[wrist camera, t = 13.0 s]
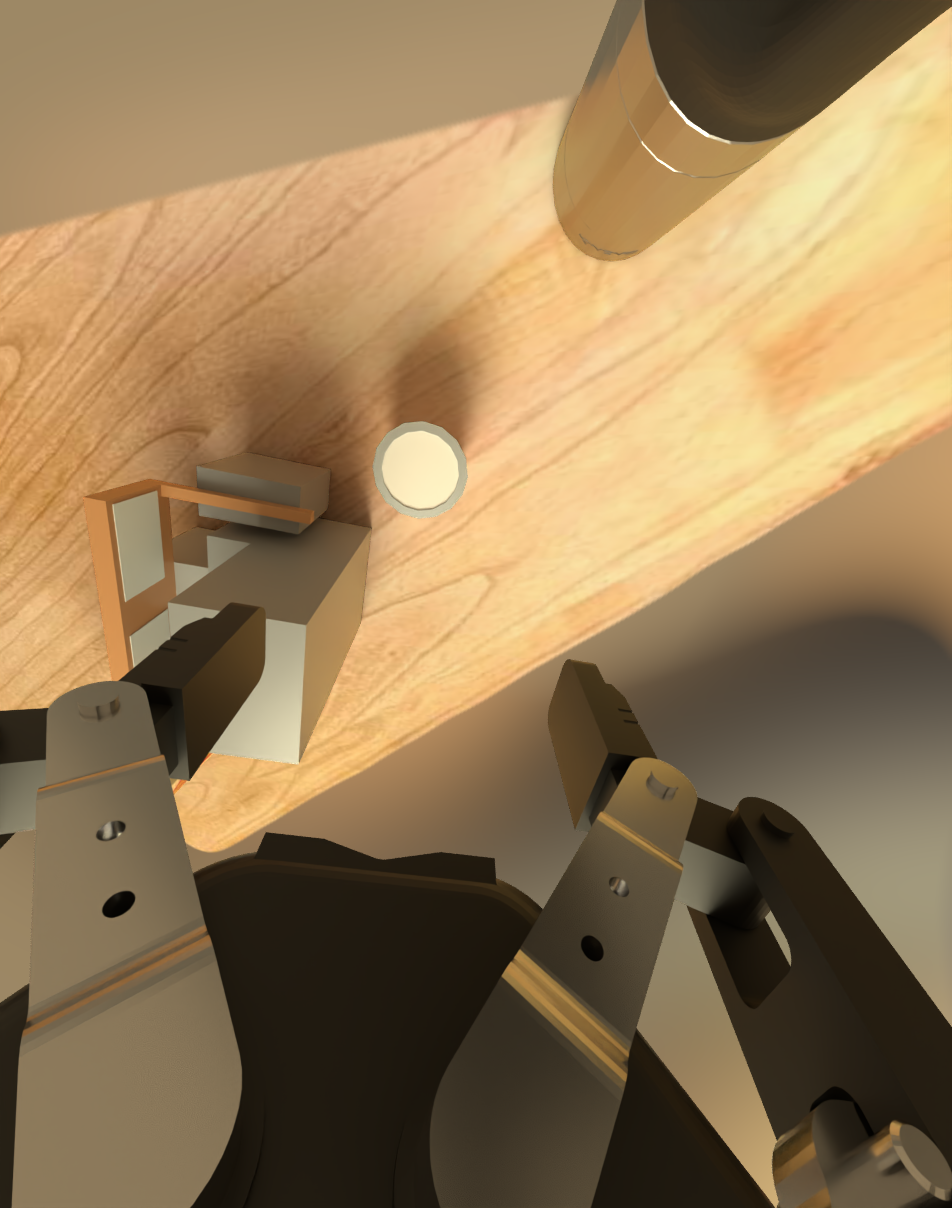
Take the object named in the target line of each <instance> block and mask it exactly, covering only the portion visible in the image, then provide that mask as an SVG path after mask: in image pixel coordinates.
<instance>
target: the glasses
mask: <svg viewBox="0 0 952 1208" xmlns="http://www.w3.org/2000/svg"><path fill="white" fill-rule="evenodd" d="M169 498H174V499H179V500H184V501H190V502H195V503H200V504H205V505H211V506H216V507H221V508H226V509H232V510H237V511H242V512H248V513H253V514H258V515H263V516H269V517H274V518H279V519H284V520H290V521H295V522H300V523H306V524H311V523H312V522H314V511H313V510H308V509H303V508H297V507H292V506H287V505H282V504H277V503H271V502H266V501H261V500H256V499H251V498H246V497H240V496H235V495H230V494H225V493H220V492H215V491H209V490H204V489H199V488H194V487H189V486H184V485H178V484H173V483H168V482H163V481H158V480H152V479H147V480H143V481H140V482H136V483H133V484H129V485H125V486H122V487H118V488H114V489H111V490H107V491H103V492H100V493H96V494H92V495H89V496H85V497H83V501H84V507H85V513H86V520H87V526H88V532H89V538H90V545H91V551H92V557H93V564H94V570H95V576H96V583H97V589H98V595H99V602H100V608H101V614H102V621H103V627H104V633H105V640H106V646H107V652H108V658H109V665H110V671H111V677H112V681H119V680H120V679H121V678H122V677H123V676H125V675H126V674H127V673H128V672H129V671H130V670H132V669H133V668H134V667H135V666H136V665H138V664H139V663H140V662H141V661H142V660H144V659H145V658H146V657H147V656H148V655H150V654H151V653H152V652H153V651H154V650H156V649H157V650H158V649H159V646H160V645H162V644H163V643H164V642H165V641H166V640H170V637H171V636H170V624H169V613H168V602H169V601H170V600H172V599H173V598H174V597H176V596H177V595H176V582H175V570H174V557H173V544H172V531H171V519H170V506H169Z"/></svg>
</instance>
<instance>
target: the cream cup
mask: <svg viewBox="0 0 952 1208" xmlns="http://www.w3.org/2000/svg"><path fill="white" fill-rule="evenodd" d="M373 472H374V477H375V483H376V487H377V488H378V490H379V491H380V493H381V495H382V496H383V498H384V500H385V501H386V502H387V503H388V504H389V505H390V506H392V507H393V508H394V509H396V510H397V511H398V512H399V513H401V514H404V515H408V516H411V517H414V518H429V517H436V516H438V515H440V514H442V513H444V512H446V511H448V510H450V509H451V508H452V507H453V506H454V505H455V503H456V502H457V501H458V500H459V498H460V497H461V496H462V495H463V491H464V488H465V485H466V481H467V478H468V474H467V464H466V457H465V455H464V453H463V451H462V449H461V447H460V445H459V443H458V441H457V440H456V439H455V438H454V437H453V436H451V435H450V434H449V433H448V432H447V431H446V430H445V429H443V428H442V427H440V426H437V425H434V424H431V423H428V422H425V421H419V422H409V423H403V424H401V425H400V426H398V427H396V428H395V429H393V430H391V431H389V432H388V433H387V434H386V436H385V437H384V438H383V440H382V441H381V443H380V444H379V445H378V447H377V448H376V453H375V458H374V463H373Z"/></svg>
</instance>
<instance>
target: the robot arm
mask: <svg viewBox="0 0 952 1208" xmlns="http://www.w3.org/2000/svg"><path fill="white" fill-rule="evenodd" d="M950 7H952V0H617V1H616V4H615V7H614V9H613V11H612V14H611V16H610V19H609V22H608V24H607V27H606V29H605V32H604V34H603V37H602V39H601V42H600V45H599V47H598V50H597V52H596V55H595V57H594V60H593V62H592V65H591V67H590V70H589V72H588V75H587V78H586V80H585V83H584V85H583V88H582V90H581V93H580V95H579V98H578V100H577V103H576V105H575V107H574V110H573V112H572V115H571V118H570V120H569V123H568V126H567V128H566V131H565V133H564V136H563V139H562V141H561V144H560V146H559V149H558V153H557V157H556V162H555V166H554V176H553V194H554V204H555V208H556V211H557V215H558V218H559V221H560V223H561V225H562V227H563V229H564V231H565V233H566V235H567V236H568V238H569V239H570V240H571V241H572V243H573V244H574V245H575V246H576V247H577V248H578V249H580V250H581V251H582V252H584V253H585V254H586V255H589V256H591V257H593V258H596V259H598V260H605V261H617V260H625V259H627V258H630V257H632V256H635V255H637V254H639V253H640V252H642V251H643V250H645V249H646V248H648V247H649V246H651V245H652V244H653V243H655V242H656V241H657V240H658V239H660V238H661V237H662V236H664V235H665V234H666V233H668V232H669V231H670V230H672V229H673V228H674V227H675V226H677V225H678V224H679V223H681V222H682V221H683V220H684V219H686V218H687V217H688V216H689V215H691V214H692V213H693V212H695V211H696V210H697V209H698V208H700V207H701V206H702V205H703V204H705V203H706V202H707V201H708V200H710V199H711V198H712V197H714V196H715V195H716V194H717V193H719V192H720V191H721V190H722V189H724V188H725V187H726V186H727V185H729V184H730V183H731V182H733V181H734V180H735V179H736V178H738V177H739V176H740V175H741V174H743V173H744V172H745V171H747V170H748V169H749V168H750V167H752V166H753V165H754V164H755V163H757V162H758V161H759V160H760V159H762V158H763V157H764V156H765V155H767V154H768V153H769V152H770V151H772V150H773V149H774V148H775V147H777V146H778V145H779V144H780V143H782V142H783V141H784V140H786V139H787V138H788V137H789V136H791V135H792V134H793V133H794V132H796V131H797V130H798V129H800V128H801V127H802V126H803V125H805V124H806V123H807V122H808V121H810V120H811V119H812V118H814V117H815V116H816V115H818V114H819V113H820V112H822V111H823V110H824V109H825V108H827V107H828V106H829V105H830V104H832V103H833V102H834V101H835V100H837V99H838V98H839V97H840V96H841V95H843V94H844V93H845V92H846V91H847V90H849V89H850V88H851V87H852V86H853V85H855V84H856V83H857V82H858V81H859V80H861V79H862V78H863V77H864V76H865V75H867V74H868V73H869V72H870V71H871V70H873V69H874V68H875V67H876V66H877V65H879V64H880V63H881V62H882V61H883V60H885V59H886V58H887V57H888V56H889V55H891V54H892V53H893V52H894V51H896V50H897V49H898V48H899V47H901V46H902V45H903V44H904V43H906V42H907V41H908V40H909V39H911V38H912V37H913V36H915V35H916V34H917V33H918V32H920V31H921V30H922V29H923V28H925V27H926V26H927V25H928V24H930V23H931V22H932V21H933V20H935V19H936V18H937V17H938V16H940V15H941V14H942V13H944V12H945V11H946V10H948V9H949V8H950ZM265 651H266V612H265V609H264V608H263V607H259V606H253V605H247V604H241V603H235V602H231V603H229V604H228V605H227V606H226V607H225V608H223V609H222V610H221V611H220V612H219V613H218V614H217V615H216V616H215V617H213V618H206V617H204V618H202V619H199V620H197V621H194V622H192V623H190V624H187V625H185V626H183V627H182V628H181V629H180V630H178V631H177V632H176V633H175V634H174V635H172V636H171V637H170V640H166V641H165V642H164V643H163V644H162V645H160V646H159V649H158V650H157V649H156V650H154V651H153V652H152V653H151V654H150V655H148V656H147V657H146V658H145V659H144V660H142V661H141V662H140V663H139V664H138V665H136V666H135V667H134V668H133V669H132V670H130V671H129V672H128V673H127V674H126V675H125V676H123V677H122V678H121V679H120V680H119V681H105V682H97V683H93V684H88V685H85V686H81V687H79V688H76V689H73V690H71V691H69V692H67V693H65V694H64V695H62V696H60V697H59V698H58V699H56V700H55V701H54V702H53V703H52V704H51V705H50V707H49V708H42V709H25V710H8V711H0V848H1V847H2V846H3V845H4V844H5V843H6V842H7V841H8V840H9V839H10V838H11V837H12V836H13V835H14V834H15V833H16V832H21V831H27V830H35V845H34V875H33V903H32V929H31V956H30V983H29V984H27V985H26V986H24V987H23V988H21V989H20V990H18V991H17V992H15V993H14V994H12V995H11V996H10V997H8V998H7V999H5V1000H4V1001H2V1002H1V1003H0V1208H775V1207H774V1206H773V1204H772V1203H771V1202H770V1200H769V1199H768V1197H767V1196H766V1195H765V1194H764V1192H763V1191H762V1190H761V1189H760V1187H759V1186H758V1185H757V1183H756V1182H755V1181H754V1179H753V1178H752V1177H751V1176H750V1174H749V1173H748V1172H747V1170H746V1169H745V1168H744V1166H743V1165H742V1164H741V1163H740V1161H739V1160H738V1159H737V1158H736V1156H735V1155H734V1154H733V1152H732V1151H731V1150H730V1148H729V1147H728V1146H727V1145H726V1143H725V1142H724V1141H723V1139H722V1138H721V1137H720V1135H718V1133H717V1132H716V1130H715V1129H714V1128H713V1126H712V1125H711V1124H710V1123H709V1121H708V1120H707V1119H706V1117H705V1116H704V1115H703V1113H702V1112H701V1111H700V1110H699V1108H698V1107H697V1106H696V1104H695V1103H694V1102H693V1101H692V1099H691V1098H690V1097H689V1095H688V1094H687V1093H686V1092H685V1090H684V1089H683V1088H682V1086H680V1084H679V1082H678V1081H677V1080H676V1079H675V1077H674V1076H673V1075H672V1073H671V1072H670V1071H669V1070H668V1068H667V1067H666V1066H665V1064H664V1063H663V1062H662V1061H661V1059H660V1058H659V1057H658V1055H657V1054H656V1053H655V1052H654V1050H653V1049H652V1048H651V1046H650V1045H649V1044H648V1042H647V1041H646V1040H645V1039H644V1037H643V1036H642V1035H641V1033H640V1032H639V1031H638V1030H637V1028H636V1027H637V1024H638V1021H639V1017H640V1014H641V1010H642V1007H643V1004H644V1000H645V997H646V993H647V990H648V987H649V983H650V980H651V976H652V973H653V970H654V966H655V963H656V960H657V956H658V953H659V949H660V946H661V943H662V939H663V936H664V932H665V929H666V925H667V922H668V918H669V916H670V912H671V909H672V905H673V902H674V900H676V901H678V902H680V903H683V904H685V905H687V908H688V911H689V913H690V916H691V918H692V921H693V924H694V926H695V929H696V932H697V934H698V937H699V939H700V942H701V944H702V947H703V950H704V952H705V955H706V958H707V960H708V963H709V965H710V968H711V971H712V973H713V976H714V978H715V981H716V983H717V986H718V989H719V991H720V994H721V996H722V999H723V1002H724V1004H725V1007H726V1009H727V1012H728V1015H729V1017H730V1020H731V1022H732V1025H733V1028H734V1030H735V1033H736V1035H737V1038H738V1041H739V1043H740V1046H741V1048H742V1051H743V1054H744V1056H745V1059H746V1061H747V1064H748V1067H749V1069H750V1072H751V1074H752V1077H753V1080H754V1082H755V1085H756V1087H757V1090H758V1093H759V1095H760V1098H761V1100H762V1103H763V1106H764V1108H765V1111H766V1113H767V1116H768V1119H769V1121H770V1124H771V1126H772V1129H773V1131H774V1134H775V1137H776V1139H777V1143H776V1144H775V1147H774V1150H773V1156H772V1174H773V1180H774V1185H775V1189H776V1193H777V1196H778V1201H779V1203H778V1205H777V1208H952V1027H951V1025H950V1024H949V1023H948V1021H947V1020H946V1019H945V1017H944V1016H943V1014H942V1013H941V1012H940V1011H939V1009H938V1008H937V1006H936V1005H935V1004H934V1002H933V1001H932V1000H931V998H930V997H929V995H928V994H927V993H926V991H925V990H924V989H923V987H922V986H921V984H920V983H919V982H918V980H917V979H916V978H915V976H914V975H913V974H912V972H911V971H910V969H909V968H908V967H907V965H906V964H905V963H904V961H903V960H902V959H901V957H900V956H899V955H898V953H897V952H896V950H895V949H894V948H893V946H892V945H891V944H890V942H889V941H888V940H887V938H886V937H885V935H884V934H883V933H882V932H881V930H880V929H879V927H878V926H877V924H876V923H875V922H874V920H873V919H872V918H871V916H870V915H869V914H868V912H867V911H866V909H865V908H864V907H863V905H862V904H861V903H860V901H859V900H858V899H857V897H856V896H855V894H854V893H853V892H852V890H851V889H850V888H849V886H848V885H847V884H846V882H845V881H844V879H843V878H842V877H841V876H840V874H839V873H838V871H837V870H836V869H835V867H834V866H833V865H832V863H831V862H830V860H829V859H828V858H827V856H826V855H825V854H824V852H823V851H822V850H821V848H820V847H819V846H818V844H817V843H816V841H815V840H814V839H813V837H812V836H811V834H810V833H809V832H808V831H807V829H806V828H805V827H804V826H803V825H802V824H801V823H800V822H799V821H798V820H797V819H796V818H795V817H794V816H792V815H791V814H790V813H788V812H787V811H786V810H784V809H783V808H781V807H779V806H777V805H775V804H774V803H772V802H769V801H766V800H764V799H760V798H756V797H747V798H743V799H742V800H741V801H740V802H739V804H738V805H737V807H736V809H735V810H734V811H731V810H729V809H726V808H724V807H721V806H718V805H716V804H713V803H711V802H708V801H705V800H703V799H701V798H698V797H697V793H696V790H695V788H694V786H693V785H692V783H691V782H690V781H689V780H688V779H687V777H686V776H684V775H683V774H682V773H681V772H680V771H679V770H677V769H676V768H674V767H672V766H671V765H669V764H667V763H665V762H663V761H660V760H658V759H657V757H656V755H655V753H654V751H653V749H652V747H651V745H650V744H649V742H648V740H647V738H646V736H645V734H644V732H643V730H642V729H641V727H640V725H638V721H637V719H636V717H635V715H634V714H633V713H632V710H631V708H630V706H629V705H628V703H627V700H626V699H625V697H624V696H623V695H622V694H621V693H620V692H619V691H617V689H615V687H614V686H612V685H611V684H606V683H605V682H604V680H603V678H602V676H601V674H600V672H599V670H598V668H597V666H596V664H593V663H588V662H582V661H576V660H570V659H569V660H567V661H566V662H565V663H564V665H563V668H562V671H561V674H560V677H559V680H558V683H557V686H556V688H555V691H554V694H553V697H552V700H551V703H550V706H549V712H548V727H549V731H550V735H551V739H552V743H553V747H554V750H555V755H556V758H557V762H558V766H559V770H560V774H561V778H562V782H563V785H564V789H565V793H566V797H567V801H568V805H569V809H570V813H571V817H572V820H573V824H574V828H575V830H579V831H587V832H588V834H587V835H586V837H585V839H584V841H583V842H582V844H581V846H580V847H579V849H578V851H577V852H576V854H575V856H574V858H573V859H572V861H571V863H570V864H569V866H568V868H567V870H566V872H565V873H564V875H563V876H562V878H561V880H560V881H559V883H558V885H557V887H556V888H555V890H554V892H553V893H552V895H551V897H550V899H549V900H548V902H547V904H546V905H545V907H544V909H542V908H541V907H540V906H539V905H538V904H537V903H536V902H534V901H533V900H532V899H531V898H530V897H529V896H527V895H526V894H524V893H523V892H522V891H520V890H519V889H517V888H516V887H514V886H512V885H510V884H508V883H506V882H504V881H502V880H500V879H497V878H496V873H495V859H494V858H487V857H478V856H469V855H460V854H452V853H443V852H439V853H431V854H424V855H417V856H409V857H402V858H395V859H387V860H381V859H376V858H373V857H371V856H368V855H365V854H363V853H360V852H357V851H355V850H352V849H349V848H347V847H344V846H342V845H339V844H336V843H334V842H331V841H328V840H326V839H320V838H311V837H303V836H294V835H285V834H276V833H267V832H266V833H265V835H264V838H263V840H262V842H261V844H260V846H259V849H258V851H257V852H254V853H247V854H243V855H239V856H234V857H231V858H228V859H225V860H222V861H219V862H216V863H214V864H211V865H209V866H207V867H205V868H202V869H200V870H198V871H196V872H194V873H193V872H192V868H191V864H190V860H189V856H188V852H187V847H186V843H185V839H184V835H183V831H182V827H181V823H180V818H179V814H178V810H177V806H176V802H175V798H174V794H173V789H172V785H171V781H170V778H171V779H179V780H187V781H190V779H191V778H192V776H193V775H194V774H195V772H196V771H197V769H198V768H199V767H200V765H201V764H202V762H203V761H204V759H205V758H206V757H207V755H208V754H209V752H210V751H211V749H212V748H213V747H214V745H215V744H216V742H217V741H218V740H219V738H220V737H221V735H222V734H223V732H224V731H225V730H226V728H227V727H228V725H229V724H230V723H231V721H232V720H233V718H234V717H235V715H236V714H237V713H238V711H239V710H240V708H241V707H242V705H243V704H244V703H245V701H246V700H247V698H248V697H249V696H250V694H251V693H252V691H253V690H254V688H255V687H256V686H257V684H258V683H259V681H260V679H261V676H262V674H263V670H264V666H265ZM770 910H771V912H772V913H773V915H774V917H775V919H776V921H777V922H778V924H779V926H780V928H781V930H782V932H783V933H784V935H785V937H786V939H787V942H788V944H789V947H790V952H791V967H790V965H789V963H788V961H787V959H786V957H785V955H784V954H783V952H782V950H781V948H780V946H779V944H778V942H777V940H776V938H775V936H774V934H773V932H772V931H771V929H770V927H769V925H768V923H767V921H766V919H765V917H766V915H767V914H768V913H769V912H770Z"/></svg>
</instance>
